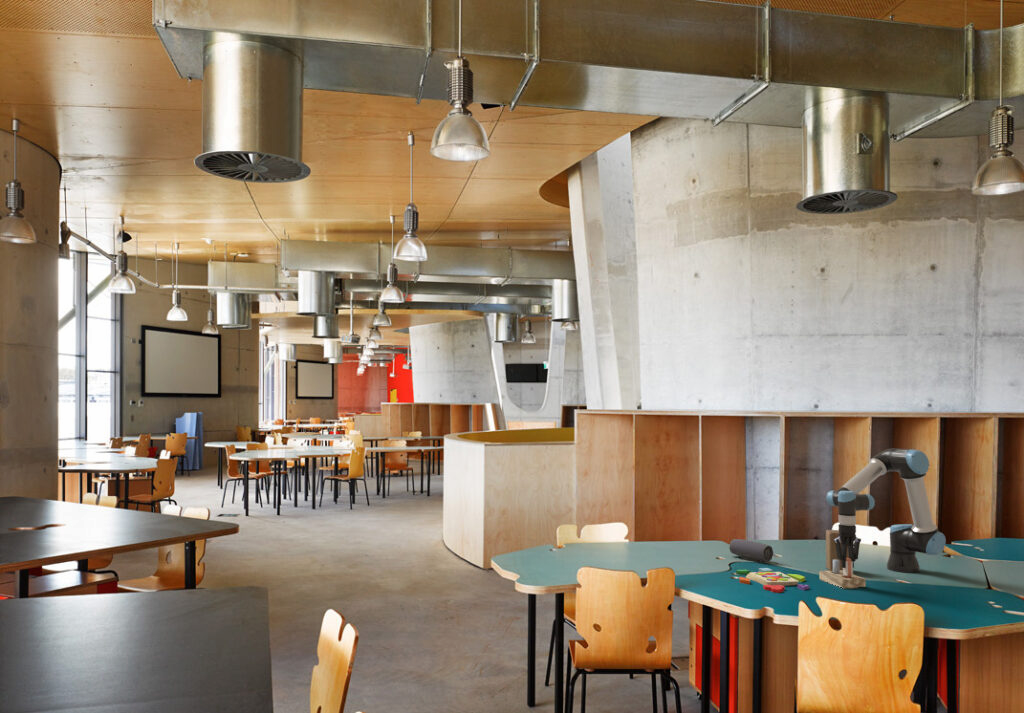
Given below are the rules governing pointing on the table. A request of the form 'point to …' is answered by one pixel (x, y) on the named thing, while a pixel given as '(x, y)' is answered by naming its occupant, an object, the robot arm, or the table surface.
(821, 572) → the hole block
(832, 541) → the wooden block
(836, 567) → the grey peg
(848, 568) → the red peg
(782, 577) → the pattern blocks set
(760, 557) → the bluetooth speaker
